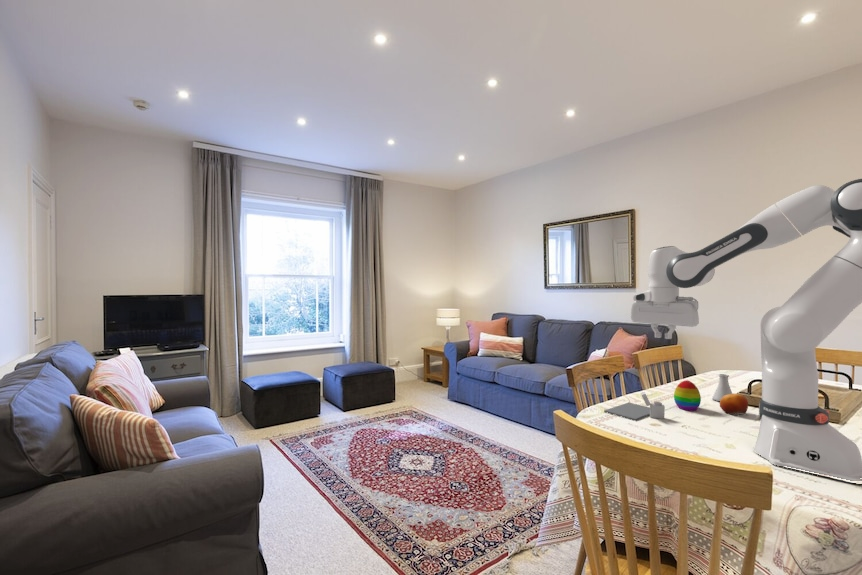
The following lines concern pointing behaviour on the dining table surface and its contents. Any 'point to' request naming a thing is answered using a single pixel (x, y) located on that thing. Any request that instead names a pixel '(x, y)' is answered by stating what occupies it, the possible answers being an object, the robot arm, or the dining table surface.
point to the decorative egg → (687, 396)
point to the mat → (630, 411)
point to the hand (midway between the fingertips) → (663, 338)
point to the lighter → (654, 408)
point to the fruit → (734, 404)
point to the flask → (722, 387)
